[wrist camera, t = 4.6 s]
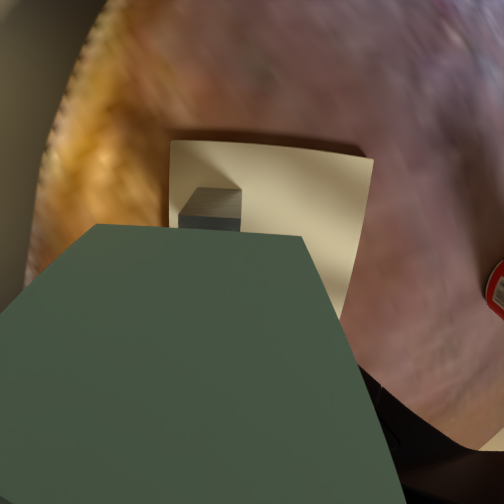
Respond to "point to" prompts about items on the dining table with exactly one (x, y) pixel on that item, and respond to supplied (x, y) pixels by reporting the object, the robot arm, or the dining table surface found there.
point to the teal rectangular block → (184, 378)
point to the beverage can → (496, 290)
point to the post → (212, 210)
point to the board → (283, 196)
